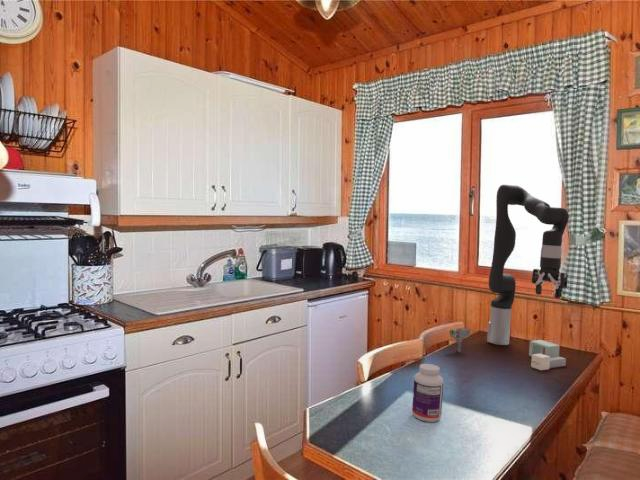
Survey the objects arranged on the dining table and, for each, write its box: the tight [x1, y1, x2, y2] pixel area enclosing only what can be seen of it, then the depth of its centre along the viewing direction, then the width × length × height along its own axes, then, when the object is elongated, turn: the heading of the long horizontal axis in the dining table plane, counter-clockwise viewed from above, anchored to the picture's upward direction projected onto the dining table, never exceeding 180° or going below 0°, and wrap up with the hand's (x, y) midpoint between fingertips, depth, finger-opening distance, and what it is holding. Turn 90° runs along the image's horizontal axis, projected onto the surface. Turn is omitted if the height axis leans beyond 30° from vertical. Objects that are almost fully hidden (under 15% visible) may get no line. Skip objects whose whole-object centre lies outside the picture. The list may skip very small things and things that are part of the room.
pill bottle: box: [411, 363, 444, 423], centre depth 124 cm, size 8×8×14 cm
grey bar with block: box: [530, 353, 567, 371], centre depth 177 cm, size 17×4×5 cm, turn 116°
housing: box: [528, 339, 560, 358], centre depth 189 cm, size 7×9×6 cm
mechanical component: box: [449, 327, 471, 353], centre depth 192 cm, size 3×10×10 cm, turn 115°
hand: (547, 296), depth 179 cm, fingers open, 8 cm apart
